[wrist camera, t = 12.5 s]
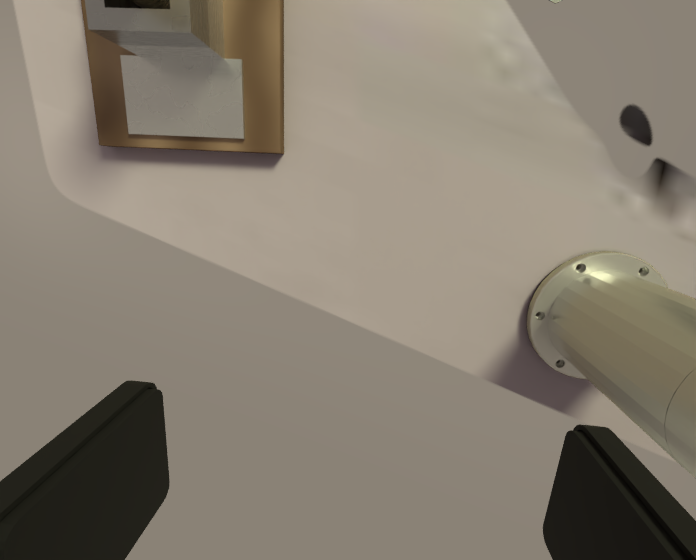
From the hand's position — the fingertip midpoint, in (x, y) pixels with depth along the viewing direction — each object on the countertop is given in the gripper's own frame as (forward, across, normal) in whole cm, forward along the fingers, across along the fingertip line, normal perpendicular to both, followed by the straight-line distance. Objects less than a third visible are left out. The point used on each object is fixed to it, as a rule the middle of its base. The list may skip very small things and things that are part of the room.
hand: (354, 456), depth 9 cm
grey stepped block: (+26, +17, -18) cm, 36 cm away
